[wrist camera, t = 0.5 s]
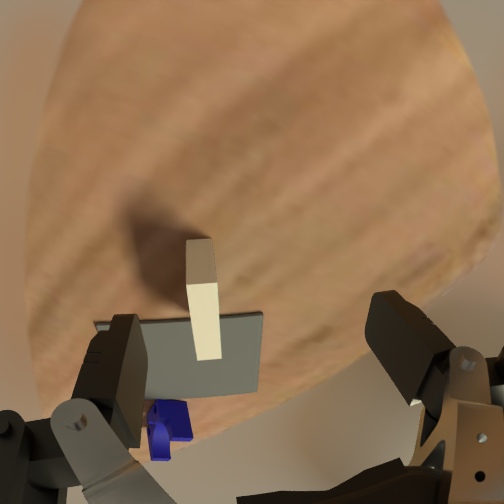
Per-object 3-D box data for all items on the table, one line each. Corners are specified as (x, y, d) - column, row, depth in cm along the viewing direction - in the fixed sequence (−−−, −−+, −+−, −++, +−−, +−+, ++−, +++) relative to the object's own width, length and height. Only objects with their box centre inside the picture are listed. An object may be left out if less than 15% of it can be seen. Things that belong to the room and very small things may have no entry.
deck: (186, 239, 27) (186, 284, 22) (211, 237, 27) (217, 282, 22) (194, 314, 32) (197, 360, 27) (216, 312, 32) (222, 358, 27)
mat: (96, 322, 30) (96, 325, 30) (262, 312, 33) (263, 315, 33) (132, 397, 39) (132, 399, 39) (256, 389, 42) (257, 392, 42)
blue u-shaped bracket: (157, 399, 39) (162, 436, 35) (186, 401, 42) (193, 437, 37) (138, 428, 45) (142, 460, 40) (163, 430, 47) (168, 461, 42)
